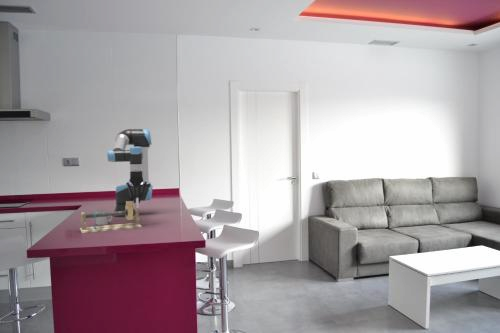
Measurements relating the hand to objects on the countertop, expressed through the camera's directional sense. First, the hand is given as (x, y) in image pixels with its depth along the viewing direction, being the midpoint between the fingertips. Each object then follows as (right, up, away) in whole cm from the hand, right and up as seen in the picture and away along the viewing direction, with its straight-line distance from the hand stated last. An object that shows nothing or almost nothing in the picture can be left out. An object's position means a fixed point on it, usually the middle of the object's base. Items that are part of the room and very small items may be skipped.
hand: (137, 208), depth 243 cm
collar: (-4, -7, -2) cm, 8 cm away
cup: (-24, -12, +9) cm, 28 cm away
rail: (-14, -12, -7) cm, 20 cm away
